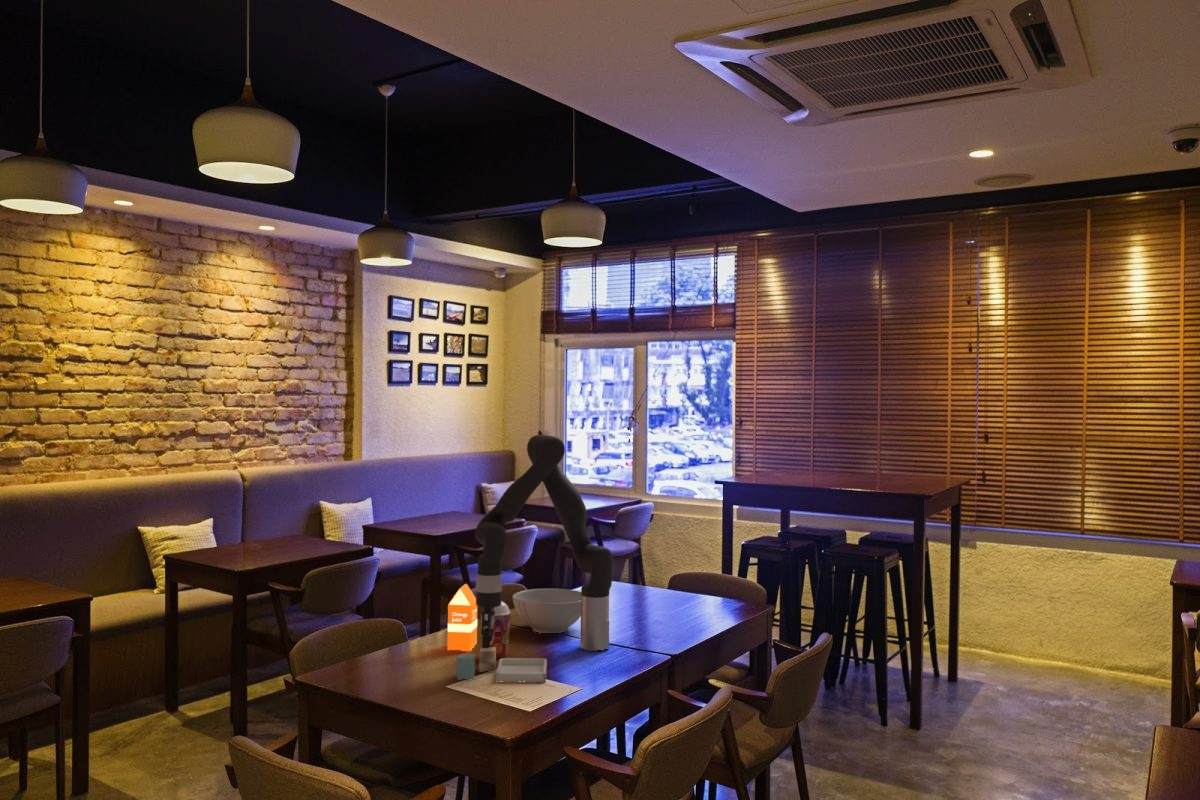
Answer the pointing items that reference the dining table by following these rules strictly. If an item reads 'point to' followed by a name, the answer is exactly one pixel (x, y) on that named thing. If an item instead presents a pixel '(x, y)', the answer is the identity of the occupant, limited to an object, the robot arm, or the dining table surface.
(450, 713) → the dining table surface
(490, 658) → the beech block
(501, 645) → the smoothie
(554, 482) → the robot arm
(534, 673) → the tray
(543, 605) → the decorative bowl
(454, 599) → the orange juice
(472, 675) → the teal block
